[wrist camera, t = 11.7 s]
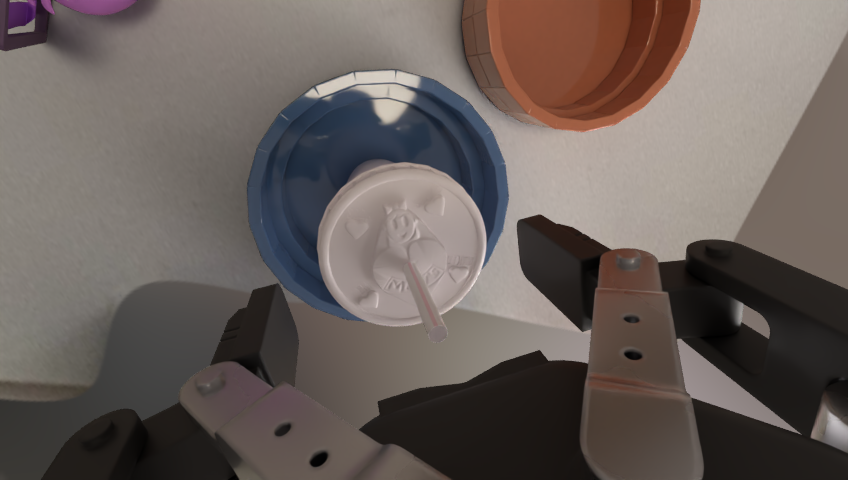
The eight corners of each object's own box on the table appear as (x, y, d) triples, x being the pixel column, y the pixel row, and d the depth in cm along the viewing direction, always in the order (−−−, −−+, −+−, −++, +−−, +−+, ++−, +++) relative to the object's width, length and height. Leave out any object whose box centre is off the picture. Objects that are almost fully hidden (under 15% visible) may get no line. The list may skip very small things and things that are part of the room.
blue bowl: (302, 307, 26) (297, 350, 21) (226, 97, 20) (200, 101, 16) (490, 257, 27) (518, 287, 23) (463, 50, 22) (493, 43, 18)
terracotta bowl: (475, 141, 24) (501, 152, 20) (445, -85, 20) (471, -124, 16) (640, 103, 25) (692, 107, 22) (648, -117, 21) (714, -159, 17)
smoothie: (340, 253, 24) (351, 439, 12) (306, 150, 22) (270, 243, 9) (440, 225, 25) (553, 370, 12) (418, 121, 22) (532, 171, 10)
